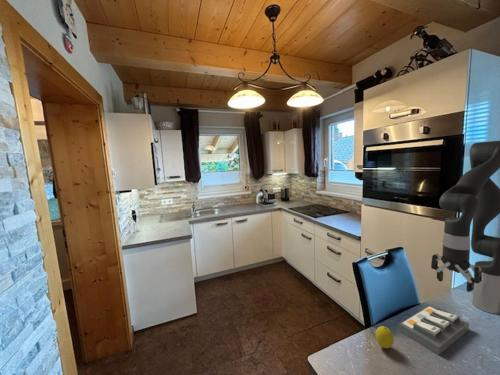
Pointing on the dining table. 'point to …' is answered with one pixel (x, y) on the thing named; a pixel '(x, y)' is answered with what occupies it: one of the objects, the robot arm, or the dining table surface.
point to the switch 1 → (429, 327)
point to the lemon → (384, 337)
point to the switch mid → (438, 321)
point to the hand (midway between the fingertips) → (454, 285)
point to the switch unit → (428, 338)
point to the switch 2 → (447, 315)
